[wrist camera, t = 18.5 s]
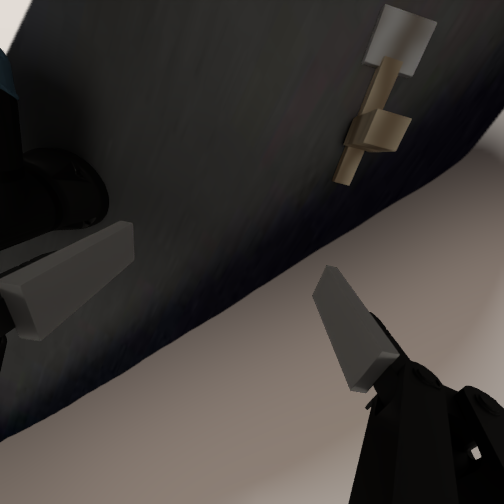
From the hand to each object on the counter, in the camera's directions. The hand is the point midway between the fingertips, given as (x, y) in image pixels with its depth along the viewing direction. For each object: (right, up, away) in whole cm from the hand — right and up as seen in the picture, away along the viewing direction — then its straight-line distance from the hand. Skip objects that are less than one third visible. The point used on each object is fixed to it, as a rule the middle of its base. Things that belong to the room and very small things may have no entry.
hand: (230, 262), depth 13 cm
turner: (+21, +24, +20) cm, 38 cm away
